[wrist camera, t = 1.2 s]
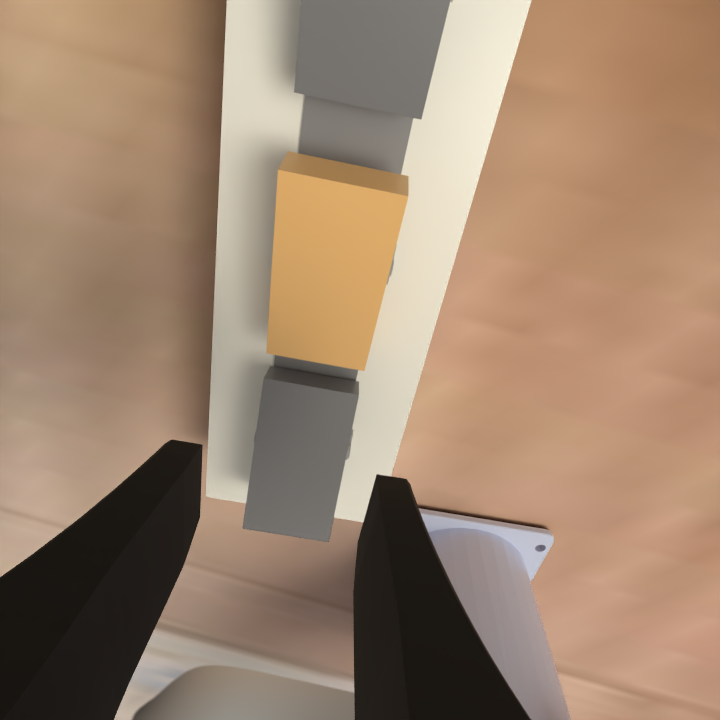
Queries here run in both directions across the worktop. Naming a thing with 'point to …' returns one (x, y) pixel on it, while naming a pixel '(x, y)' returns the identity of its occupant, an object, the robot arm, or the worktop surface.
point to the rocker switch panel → (415, 241)
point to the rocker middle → (331, 257)
